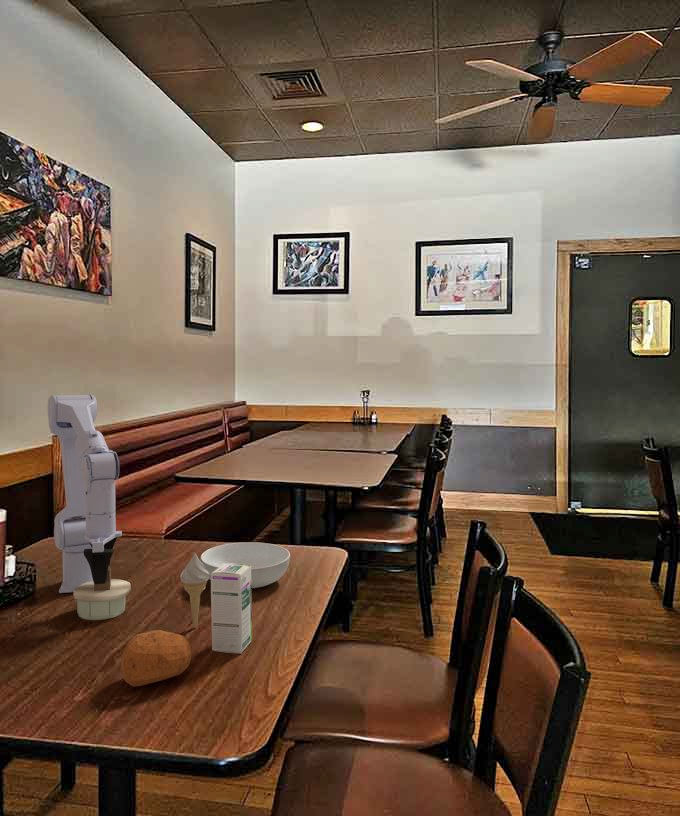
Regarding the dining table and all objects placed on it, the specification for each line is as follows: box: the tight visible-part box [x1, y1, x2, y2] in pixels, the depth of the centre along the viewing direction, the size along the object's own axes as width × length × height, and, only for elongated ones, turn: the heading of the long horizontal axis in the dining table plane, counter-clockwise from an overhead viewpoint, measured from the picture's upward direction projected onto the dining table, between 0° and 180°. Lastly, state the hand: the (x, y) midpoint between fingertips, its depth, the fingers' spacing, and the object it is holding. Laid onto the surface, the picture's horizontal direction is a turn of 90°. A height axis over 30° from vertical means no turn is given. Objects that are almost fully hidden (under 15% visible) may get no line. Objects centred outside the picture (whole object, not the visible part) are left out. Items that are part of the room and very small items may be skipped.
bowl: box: [76, 596, 126, 621], centre depth 132 cm, size 9×9×4 cm
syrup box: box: [210, 563, 253, 655], centre depth 117 cm, size 6×6×14 cm
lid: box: [73, 565, 132, 602], centre depth 132 cm, size 11×11×5 cm
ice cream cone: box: [179, 551, 210, 629], centre depth 125 cm, size 6×6×15 cm
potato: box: [120, 629, 193, 687], centre depth 105 cm, size 9×11×8 cm
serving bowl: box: [199, 541, 291, 589], centre depth 151 cm, size 21×21×7 cm
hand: (101, 577), depth 132 cm, fingers open, 7 cm apart
